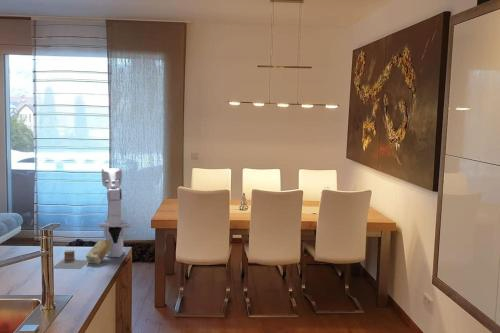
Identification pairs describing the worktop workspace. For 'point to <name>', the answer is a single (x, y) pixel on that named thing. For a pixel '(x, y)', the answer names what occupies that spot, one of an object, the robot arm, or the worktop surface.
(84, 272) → the worktop surface
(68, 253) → the walnut cube
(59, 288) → the worktop surface
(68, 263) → the felt mat
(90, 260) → the skincare box
